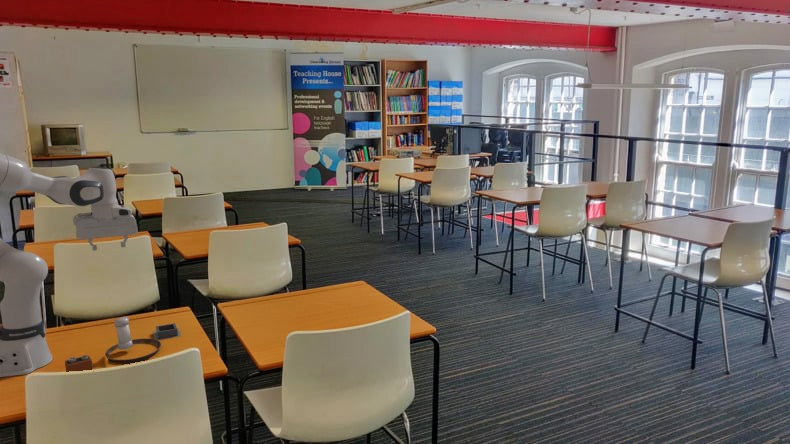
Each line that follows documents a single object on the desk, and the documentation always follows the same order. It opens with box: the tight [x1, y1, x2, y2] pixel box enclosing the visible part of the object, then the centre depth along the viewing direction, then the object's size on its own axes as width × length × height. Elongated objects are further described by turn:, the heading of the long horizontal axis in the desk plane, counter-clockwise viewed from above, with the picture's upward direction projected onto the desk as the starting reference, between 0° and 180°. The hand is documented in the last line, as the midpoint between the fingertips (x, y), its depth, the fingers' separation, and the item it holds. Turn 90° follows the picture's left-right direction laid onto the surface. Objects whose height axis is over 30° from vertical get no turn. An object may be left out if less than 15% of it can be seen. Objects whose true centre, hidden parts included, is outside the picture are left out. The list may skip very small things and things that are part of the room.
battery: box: [64, 354, 94, 373], centre depth 180 cm, size 4×7×10 cm, turn 128°
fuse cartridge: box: [113, 316, 134, 350], centre depth 203 cm, size 4×4×10 cm
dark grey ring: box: [105, 338, 162, 366], centre depth 204 cm, size 18×18×3 cm
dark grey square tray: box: [152, 322, 182, 341], centre depth 220 cm, size 9×9×4 cm
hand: (109, 248), depth 217 cm, fingers open, 8 cm apart
